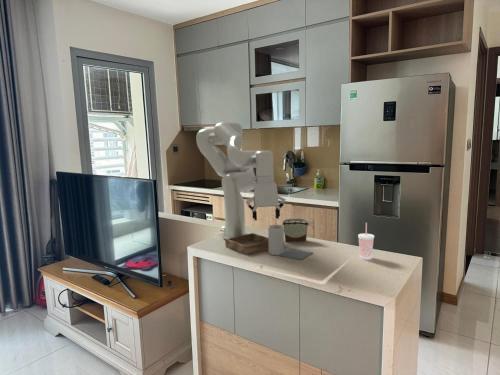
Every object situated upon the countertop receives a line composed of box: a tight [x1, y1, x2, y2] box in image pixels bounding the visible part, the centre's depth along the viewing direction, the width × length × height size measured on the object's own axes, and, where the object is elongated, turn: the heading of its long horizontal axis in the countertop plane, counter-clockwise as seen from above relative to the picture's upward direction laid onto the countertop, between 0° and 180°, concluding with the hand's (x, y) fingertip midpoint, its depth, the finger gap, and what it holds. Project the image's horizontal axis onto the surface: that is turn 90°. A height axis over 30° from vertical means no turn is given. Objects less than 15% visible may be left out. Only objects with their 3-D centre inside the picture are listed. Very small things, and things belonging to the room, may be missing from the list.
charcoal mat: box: [279, 248, 313, 261], centre depth 147 cm, size 10×10×1 cm
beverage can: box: [267, 224, 285, 256], centre depth 148 cm, size 6×6×12 cm
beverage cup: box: [357, 222, 375, 260], centre depth 140 cm, size 6×6×14 cm
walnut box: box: [224, 232, 269, 256], centre depth 158 cm, size 16×16×4 cm
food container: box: [281, 218, 310, 243], centre depth 166 cm, size 12×6×10 cm, turn 84°
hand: (266, 219), depth 154 cm, fingers open, 9 cm apart
